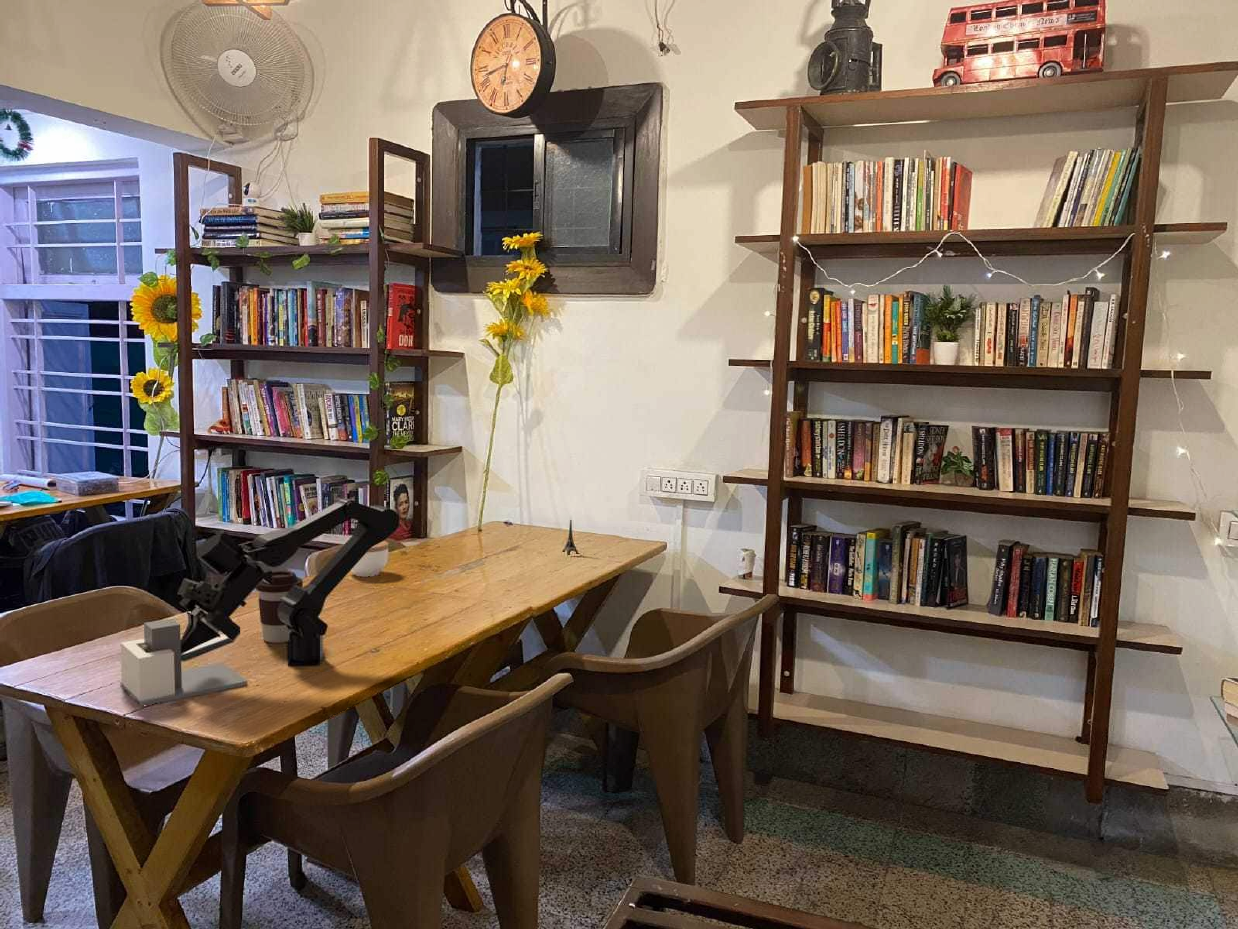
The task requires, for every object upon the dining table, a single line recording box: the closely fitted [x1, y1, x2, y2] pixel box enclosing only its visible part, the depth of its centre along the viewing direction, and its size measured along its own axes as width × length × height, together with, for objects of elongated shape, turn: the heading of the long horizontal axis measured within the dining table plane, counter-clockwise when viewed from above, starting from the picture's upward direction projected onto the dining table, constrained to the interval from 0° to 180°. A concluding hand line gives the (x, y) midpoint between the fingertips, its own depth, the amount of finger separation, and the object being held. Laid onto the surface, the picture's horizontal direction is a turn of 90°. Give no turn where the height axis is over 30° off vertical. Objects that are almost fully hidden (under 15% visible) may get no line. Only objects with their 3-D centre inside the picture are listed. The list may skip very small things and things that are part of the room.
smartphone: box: [181, 633, 233, 661], centre depth 206 cm, size 9×2×16 cm
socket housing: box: [120, 638, 248, 707], centre depth 182 cm, size 19×14×9 cm
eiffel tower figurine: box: [561, 519, 580, 555], centre depth 312 cm, size 15×10×13 cm
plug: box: [142, 618, 182, 687], centre depth 179 cm, size 6×5×12 cm
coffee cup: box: [255, 570, 304, 644], centre depth 213 cm, size 10×10×15 cm
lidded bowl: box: [350, 540, 390, 578], centre depth 277 cm, size 13×13×11 cm
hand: (178, 652), depth 181 cm, fingers closed, pressing on plug
